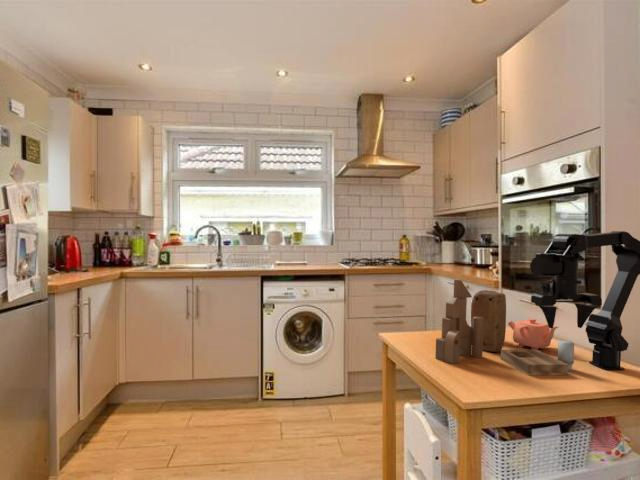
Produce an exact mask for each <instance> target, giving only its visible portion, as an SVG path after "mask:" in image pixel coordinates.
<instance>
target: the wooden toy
mask: <svg viewBox="0 0 640 480" xmlns="http://www.w3.org/2000/svg"><path fill="white" fill-rule="evenodd" d="M469 298H473V297H472V295H471V293H470V291H469V290H468V287H466V285H465V284H464V282H463V280H461V279H457V278H454V280H453V296H449V298H448V299H447V301H446V302H445V317H442V320H441V321H442V323H441V337H438V338H436V339H435V359H436V360H439V361H441V362H445V363H448V364H450V365H454V364H459V363H460V356H462V357H468V355H469V356H471V357H473V358H475V357H476V359H481V358H483V351H484V350H483V325H484V319H483V318H482V317H477V316H476V317H473V331H472V327H470V324H468V322H467V303H468V299H469Z"/></svg>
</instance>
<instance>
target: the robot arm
mask: <svg viewBox="0 0 640 480" xmlns="http://www.w3.org/2000/svg"><path fill="white" fill-rule="evenodd" d="M607 246H611V251H612V252H613V254H615V256H616V259H615V263H616V267H617V273H616V274H615V276H614V279H613V281H612V284H611V287H610V288H609V291H608V293H607V295H606V298H605V301H604V303H602V302H603V299H602V297H601V296H600V295H599V294H595V293H589V292H579V291H578V287H579V285H581V284H582V280H581V279H579V262H584V261H585V260H586V259H585V258H584V256H582V255H581V253H582V252H585V251H587V250H588V249H591V248H597V247H598V248H599V247H607ZM529 269H530V272H531V273H532V275H534V276H535V277H551V283H547V282H546V281H538V282H536V290H537V291H536V292H537V293H536V292H535V293H533V294H532V295H531V297H530V303H533V304H535V306H537V307H538V308H540V309H541V311H542V313H543V314H544V317H545V320H546V324H548V326H549V329H552V328H553V326H555V320H556V314H557V313H556V312H557V308H558V307H557V306H555V305H556V304H557V303H574V305H575V308H576V310H577V311H576V312H577V313H576V316H577V317H576V318H577V319H576V323H577V328H579V329H582V328H583V326H584V325H585V333H586V336H587V339H588V343H589V344H593V350H592V360H589V361H588V362H589V364H592V365H593V366H596V367H598V368H600V369H602V370H606V371H608V370H610V371H611V370H612V371H614V370H613V369H626V368H625V367H623V366H621V359H622V358H621V355H622V352H624V351H627V350H628V348H629V342H628V341H627V340H626V339H625V338H624V337H623V335H622V332H623V325H622V322H621V316H622V314H623V312H624V310H625V307H626V304H627V302H628V300H629V298H630V295H631V293H632V291H633V288H634V285H635V283H636V281H637V279H638V276H639V275H640V240H639V239H638V238H635V237H633V235H631V234H630V232H627V231H622V230H617V231H616V230H613V231H610V232H602V233H601V232H600V233H593V234H592V233H591V234H578V233H558V234H555V235H554V236H553V239H552V241H551V242H550V244H549V246H548V247H547V248H546V250H545V252H543V253H542V252H541V253H540V252H536V253H535V257H534V258H532V259H531V262H530V264H529ZM599 306H602V308H601V310H600V311H599V312H598V313H595V314H594V313H593V312H594V310H595V309H598V308H599Z"/></svg>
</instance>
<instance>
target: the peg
mask: <svg viewBox="0 0 640 480" xmlns="http://www.w3.org/2000/svg"><path fill="white" fill-rule="evenodd" d="M557 345H558V346H557V358H556V359H557V360H559V361H561V362H564V363H566V364H568V372H572V371H573V365H574V363H575V359H574V357H575V343H574V342H572V341H568V340H558V343H557Z"/></svg>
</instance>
